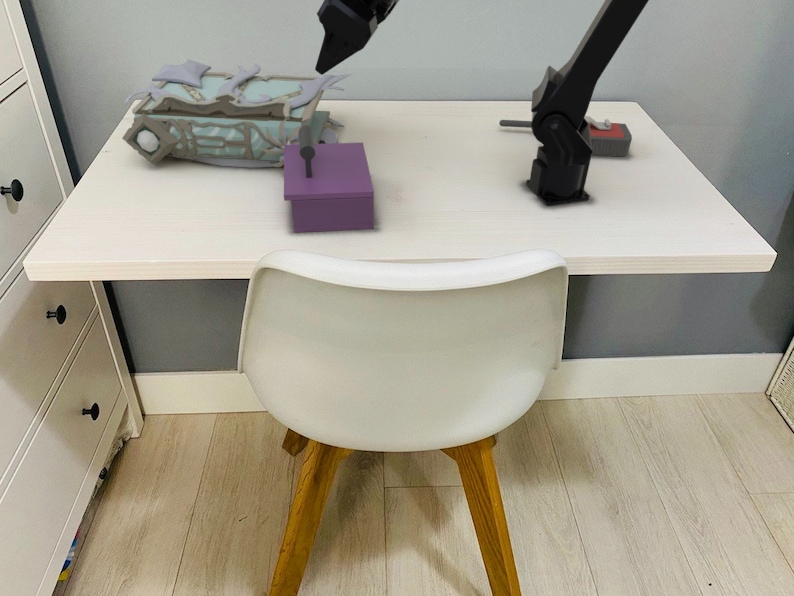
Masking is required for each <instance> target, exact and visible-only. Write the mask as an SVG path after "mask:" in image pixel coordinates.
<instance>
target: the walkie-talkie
mask: <svg viewBox="0 0 794 596" xmlns="http://www.w3.org/2000/svg"><path fill="white" fill-rule="evenodd" d="M584 118H585V119H586V121H587V122H588V123H589V124H590V134H591V143H592V155H593V156H606V157H607V156H609V157H610V156H611V157H624V156H628V154H629V151H630V147H631V144H632V139H633V135H632V133H631V131H630V129H629V128H628V126H627V124H626V123H619V122H611V121H610V120H609V119H608V118H607V119H605V118H604V122H603V121H602V122H601V121H596V120H595V119H594V118H592V117H591V116H589V115H585V117H584ZM498 124H499V126H500V127H505V128H506V127H508V128H524V129H525V128H526V129H527V128H528V129H532V127H531V125H532V120H517V119H516V120H515V119H514V120H513V119H500V120H499V123H498Z"/></svg>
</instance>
